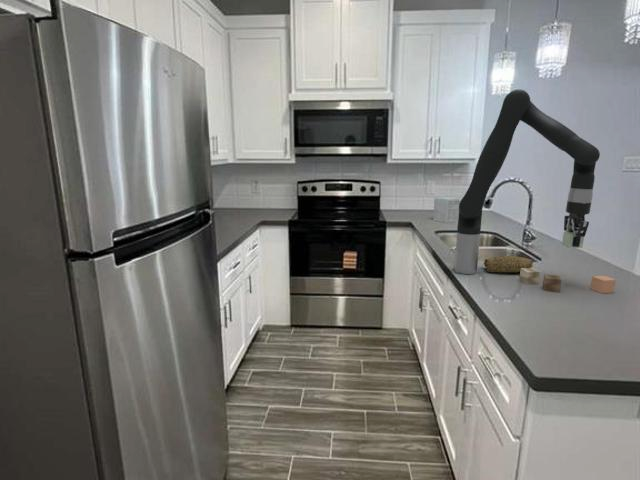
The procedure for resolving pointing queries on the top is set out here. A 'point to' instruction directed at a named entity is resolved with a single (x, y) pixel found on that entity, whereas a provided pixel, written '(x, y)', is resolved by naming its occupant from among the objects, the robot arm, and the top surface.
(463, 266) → the robot arm
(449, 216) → the supplement box
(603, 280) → the terracotta block
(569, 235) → the sage block
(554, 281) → the walnut block
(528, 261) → the sponge
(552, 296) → the top surface
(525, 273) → the maple block
